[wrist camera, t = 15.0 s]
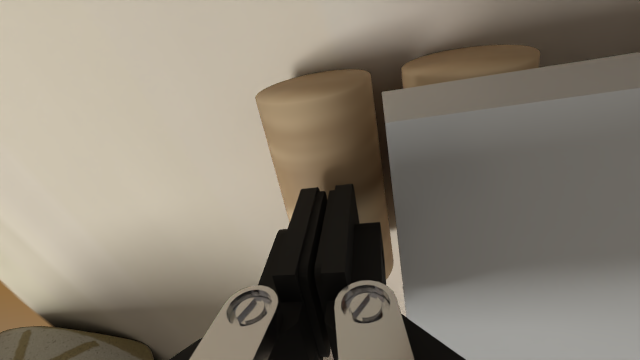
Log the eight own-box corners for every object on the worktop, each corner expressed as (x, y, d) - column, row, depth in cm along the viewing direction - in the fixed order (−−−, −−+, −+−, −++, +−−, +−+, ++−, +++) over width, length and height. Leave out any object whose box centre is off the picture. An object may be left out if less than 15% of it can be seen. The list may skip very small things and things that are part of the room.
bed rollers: (268, 67, 14) (234, 95, 11) (959, -57, 10) (1273, -78, 7) (312, 246, 18) (298, 308, 15) (817, 209, 14) (964, 282, 11)
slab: (381, 92, 10) (385, 122, 8) (841, 20, 8) (1024, 34, 6) (404, 300, 13) (411, 362, 11) (722, 288, 11) (805, 359, 9)
